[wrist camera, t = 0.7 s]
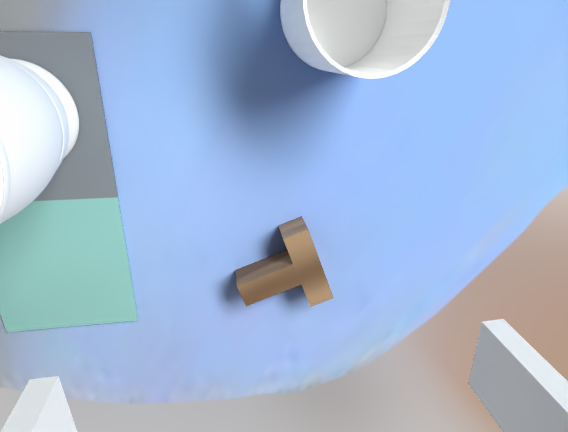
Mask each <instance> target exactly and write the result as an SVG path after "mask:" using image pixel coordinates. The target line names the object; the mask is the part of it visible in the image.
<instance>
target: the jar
mask: <svg viewBox="0 0 568 432" xmlns="http://www.w3.org/2000/svg"><path fill="white" fill-rule="evenodd" d="M78 132H79V116H78V112H77V108H76V105H75V103H74V100H73V98H72V97H71V95H70V93H69V92H68V90H67V89H66V88H65V86H64V85H63V84H62V83H61V82H60V81H59V80H58V79H57V78H56V77H55V76H54V75H52V74H51V73H50V72H48V71H47V70H45V69H43V68H42V67H40V66H38V65H35V64H33V63H30V62H27V61H23V60H18V59H9V58H6V57H3V56H0V224H1V223H3V222H4V221H6V220H8V219H9V218H11V217H13V216H14V215H16V214H17V213H19V212H20V211H21V210H23V209H24V208H25V207H27V206H28V205H29V204H30V203H31V202H32V201H33V200H34V199H36V198H37V196H38V195H39V194H40V193H41V192H42V191H43V190H44V189H45V187H46V186H47V185H48V183H49V182H50V180H51V179H52V177H53V175H54V173H55V171H56V170H57V169H58V167H59V166H60V164H61V162H62V160H63V159H64V158H65V157H66V156H67V155H68V154H69V152H70V151H71V150H72V148H73V146H74V145H75V142H76V140H77V137H78Z"/></svg>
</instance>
